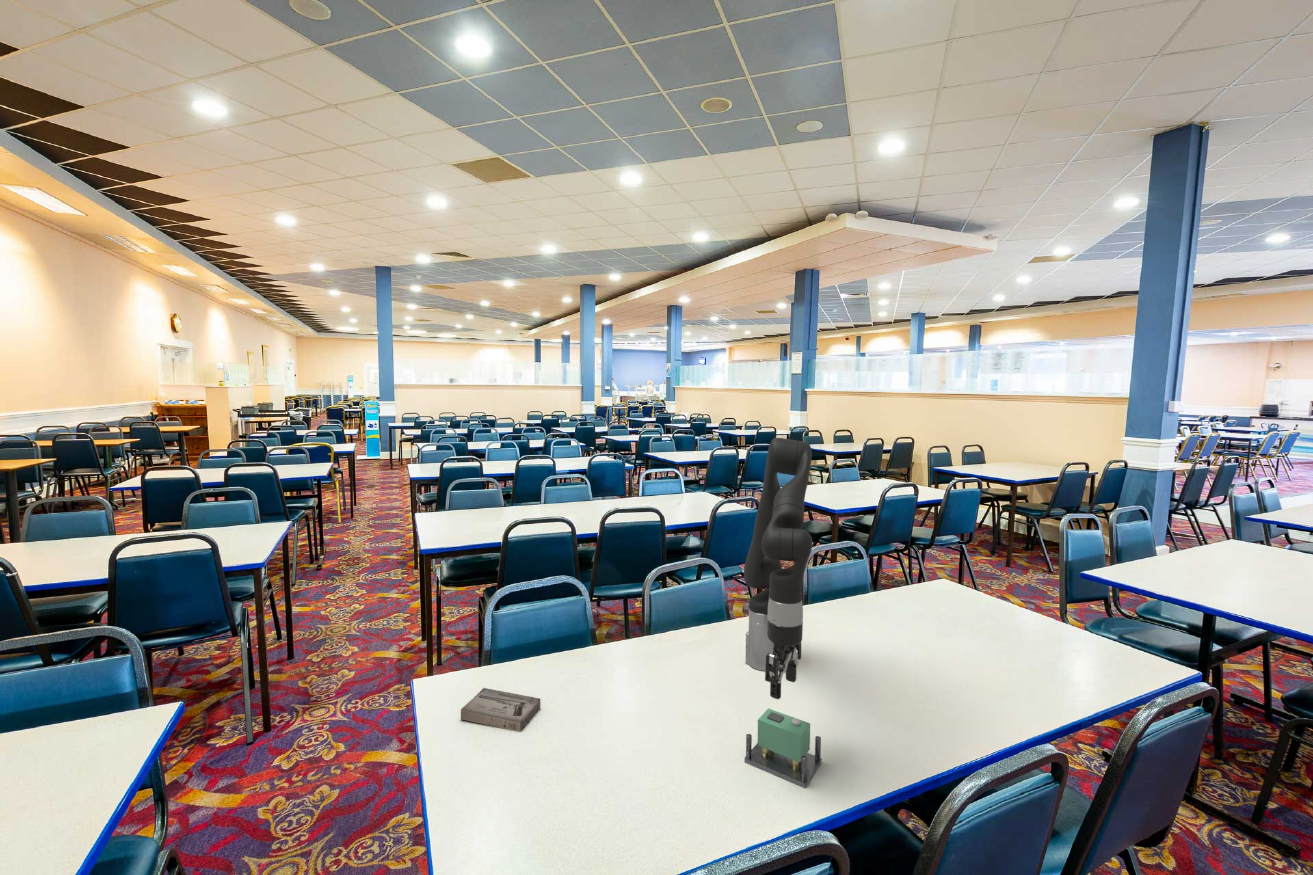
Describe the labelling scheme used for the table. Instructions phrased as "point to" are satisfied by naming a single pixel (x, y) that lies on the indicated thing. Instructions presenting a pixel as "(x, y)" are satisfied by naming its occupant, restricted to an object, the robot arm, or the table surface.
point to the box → (501, 709)
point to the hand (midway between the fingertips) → (783, 688)
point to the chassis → (784, 762)
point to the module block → (784, 734)
